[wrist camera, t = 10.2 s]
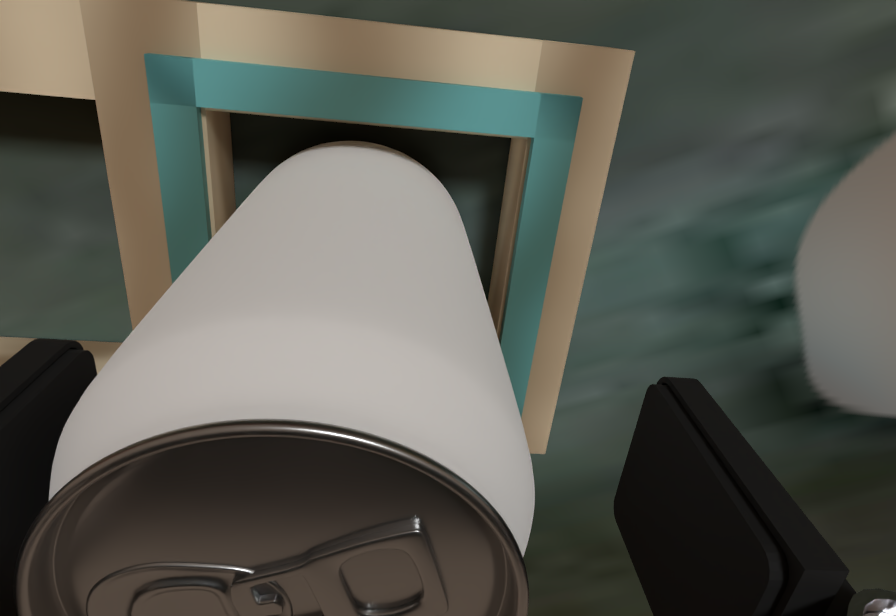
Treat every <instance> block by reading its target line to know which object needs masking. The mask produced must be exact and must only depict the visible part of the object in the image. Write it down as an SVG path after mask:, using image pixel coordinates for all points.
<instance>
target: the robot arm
mask: <svg viewBox="0 0 896 616" xmlns="http://www.w3.org/2000/svg"><path fill="white" fill-rule="evenodd" d="M96 376H97V370H96V365H95V360H94V357H93V354H92V353H91V352H90V351H88V350H84V349H83V347H82V345H81V344H80V343H79V342H77V341H73V340H57V339H34V340H33V341H31V342H29V343H28V344H27V345H26V346H25V347H23V348H22V349H21V350H20V351H18V352H17V353H16V354H15V355H13V356H12V357H11V358H10V359H8V360H7V361H6V362H5V363H4V364H2V365H1V366H0V616H18V615H17V611H16V606H15V599H14V574H15V567H16V562H17V558H18V554H19V551H20V548H21V545H22V543H23V540H24V538H25V536H26V534H27V532H28V530H29V528H30V527H31V525H32V523H33V521H34V520H35V518H36V517H37V516H38V514H39V513H40V511H41V510H42V509H43V508H44V506H45V505H46V504H47V503H48V501H49V489H50V479H51V471H52V465H53V461H54V457H55V452H56V448H57V445H58V441H59V438H60V436H61V433H62V431H63V428H64V426H65V424H66V422H67V420H68V418H69V416H70V415H71V413H72V411H73V409H74V408H75V406H76V405H77V403H78V401H79V400H80V398H81V396H82V395H83V393H84V392H85V390H86V389H87V387H88V386H89V385H90V384H91V382H92V381H93V380H94V378H95V377H96ZM614 515H615V519H616V522H617V525H618V527H619V530H620V532H621V535H622V537H623V540H624V542H625V545H626V548H627V550H628V553H629V555H630V558H631V560H632V563H633V565H634V568H635V570H636V573H637V575H638V578H639V580H640V583H641V585H642V588H643V590H644V593H645V595H646V598H647V600H648V603H649V605H650V608H651V610H652V613H653V615H654V616H896V592H893V591H888V590H883V589H864V590H862V591H860V592H858V593H856V592H855V590H854V589H853V588H852V587H851V585H850V584H849V583H848V581H847V580H846V579H845V578H846V577H847V575H848V573H849V570H848V568H847V567H846V566H845V564H844V563H843V562H842V561H841V559H840V558H839V557H838V556H837V554H836V553H835V552H834V551H833V549H832V548H831V547H830V546H829V544H828V543H827V542H826V541H825V539H824V538H823V537H822V535H821V534H820V533H819V532H818V530H817V529H816V528H815V527H814V525H813V524H812V523H811V522H810V520H809V519H808V518H807V517H806V515H805V514H804V513H803V511H802V510H801V509H800V508H799V506H798V505H797V504H796V503H795V501H794V500H793V499H792V498H791V496H790V495H789V494H788V493H787V491H786V490H785V489H784V488H783V486H782V485H781V484H780V482H779V481H778V480H777V479H776V477H775V476H774V475H773V474H772V472H771V471H770V470H769V469H768V467H767V466H766V465H765V464H764V462H763V461H762V460H761V458H760V457H759V456H758V455H757V453H756V452H755V451H754V450H753V448H752V447H751V446H750V445H749V443H748V442H747V441H746V440H745V438H744V437H743V436H742V435H741V433H740V432H739V431H738V429H737V428H736V427H735V426H734V424H733V423H732V422H731V421H730V419H729V418H728V417H727V416H726V414H725V413H724V412H723V411H722V409H721V408H720V407H719V405H718V404H717V403H716V402H715V400H714V399H713V398H712V397H711V395H710V394H709V393H708V392H707V390H706V389H705V388H704V387H703V385H702V384H701V383H700V382H699V381H698V380H697V379H691V378H675V377H662V378H660V380H659V381H658V382H657V385H656V384H652V385H650V386H649V387H648V389H647V391H646V394H645V398H644V401H643V405H642V408H641V411H640V415H639V418H638V421H637V425H636V428H635V431H634V435H633V438H632V441H631V445H630V448H629V452H628V455H627V458H626V462H625V465H624V468H623V472H622V475H621V478H620V482H619V485H618V488H617V492H616V495H615V499H614Z"/></svg>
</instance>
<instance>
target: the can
mask: <svg viewBox="0 0 896 616" xmlns="http://www.w3.org/2000/svg"><path fill="white" fill-rule="evenodd" d="M534 504H535V486H534V477H533V470H532V463H531V457H530V452H529V448H528V444H527V440H526V436H525V432H524V428H523V424H522V420H521V416H520V413H519V409H518V406H517V402H516V399H515V395H514V392H513V388H512V385H511V381H510V378H509V374H508V371H507V367H506V364H505V361H504V357H503V354H502V350H501V347H500V344H499V340H498V337H497V333H496V330H495V327H494V323H493V320H492V317H491V313H490V310H489V307H488V303H487V300H486V296H485V293H484V290H483V286H482V283H481V280H480V277H479V273H478V270H477V267H476V263H475V260H474V257H473V253H472V250H471V247H470V244H469V241H468V237H467V234H466V231H465V228H464V225H463V222H462V219H461V217H460V214H459V212H458V209H457V207H456V205H455V203H454V201H453V200H452V198H451V196H450V195H449V193H448V192H447V190H446V189H445V187H444V186H443V185H442V184H441V182H440V181H439V180H438V179H437V178H436V177H435V176H434V175H433V174H432V173H431V172H430V171H429V170H428V169H427V168H425V167H424V166H423V165H421V164H420V163H419V162H417V161H416V160H414V159H413V158H411V157H409V156H407V155H406V154H404V153H402V152H399V151H397V150H395V149H392V148H389V147H386V146H383V145H380V144H375V143H370V142H364V141H336V142H329V143H324V144H320V145H316V146H313V147H310V148H308V149H305V150H303V151H301V152H299V153H297V154H295V155H293V156H291V157H290V158H288V159H287V160H285V161H284V162H282V163H281V164H280V165H278V166H277V167H276V168H275V169H274V170H273V171H272V172H270V173H269V174H268V175H267V176H266V177H265V179H264V180H263V181H262V182H261V183H260V184H259V185H258V186H257V187H256V188H255V189H254V191H253V192H252V193H251V194H250V195H249V196H248V197H247V198H246V200H245V201H244V202H243V203H242V204H241V205H240V206H239V208H238V209H237V210H236V211H235V212H234V213H233V214H232V216H231V217H230V218H229V219H228V220H227V221H226V223H225V224H224V225H223V226H222V227H221V228H220V229H219V231H218V232H217V233H216V234H215V235H214V236H213V238H212V239H211V240H210V241H209V242H208V243H207V244H206V246H205V247H204V248H203V249H202V250H201V251H200V253H199V254H198V255H197V256H196V257H195V258H194V260H193V261H192V262H191V263H190V264H189V265H188V267H187V268H186V269H185V270H184V271H183V272H182V274H181V275H180V276H179V277H178V278H177V279H176V281H175V282H174V283H173V284H172V285H171V286H170V288H169V289H168V290H167V291H166V292H165V293H164V295H163V296H162V297H161V298H160V299H159V301H158V302H157V303H156V304H155V305H154V306H153V308H152V309H151V310H150V311H149V312H148V313H147V315H146V316H145V317H144V318H143V319H142V321H141V322H140V323H139V324H138V325H137V326H136V328H135V329H134V330H133V331H132V332H131V334H130V335H129V336H128V337H127V338H126V340H125V341H124V342H123V343H122V344H121V346H120V347H119V348H118V349H117V350H116V352H115V353H114V354H113V355H112V357H111V358H110V359H109V360H108V362H107V363H106V364H105V365H104V367H103V368H102V369H101V371H100V372H99V373H98V374H97V376H96V377H95V378H94V380H93V381H92V382H91V384H90V385H89V386H88V387H87V389H86V390H85V392H84V393H83V395H82V396H81V398H80V400H79V401H78V403H77V405H76V406H75V408H74V409H73V411H72V413H71V415H70V416H69V418H68V420H67V422H66V424H65V426H64V428H63V431H62V433H61V436H60V438H59V441H58V445H57V448H56V452H55V457H54V461H53V465H52V471H51V479H50V489H49V501H48V503H47V504H46V505H45V506H44V508H43V509H42V510H41V511H40V513H39V514H38V516H37V517H36V518H35V520H34V521H33V523H32V525H31V527H30V528H29V530H28V532H27V534H26V536H25V538H24V540H23V543H22V545H21V548H20V551H19V554H18V558H17V562H16V567H15V574H14V599H15V606H16V611H17V615H18V616H527V613H528V605H529V585H528V577H527V572H526V567H525V563H524V560H523V556H524V553H525V550H526V546H527V543H528V539H529V535H530V531H531V526H532V520H533V514H534Z"/></svg>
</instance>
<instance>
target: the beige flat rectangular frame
mask: <svg viewBox="0 0 896 616" xmlns="http://www.w3.org/2000/svg"><path fill="white" fill-rule="evenodd" d="M634 54H635V51H631V50H624V49H617V48H610V47H602V46H593V45H583V44H574V43H565V42H556V41H547V40H538V39H529V38H520V37H511V36H502V35H493V34H484V33H475V32H466V31H457V30H448V29H439V28H430V27H421V26H412V25H403V24H394V23H385V22H376V21H366V20H357V19H348V18H339V17H330V16H321V15H312V14H303V13H294V12H285V11H276V10H267V9H258V8H249V7H240V6H231V5H222V4H213V3H204V2H195V1H186V0H0V91H4V92H14V93H25V94H36V95H47V96H58V97H69V98H80V99H91V100H95V101H96V107H97V113H98V119H99V125H100V131H101V137H102V144H103V150H104V156H105V162H106V168H107V174H108V180H109V187H110V193H111V199H112V205H113V211H114V217H115V223H116V230H117V236H118V242H119V248H120V254H121V260H122V266H123V273H124V279H125V285H126V291H127V297H128V303H129V309H130V316H131V322H132V328H133V330H134V329H135V328H136V326H137V325H138V324H139V323H140V322H141V321H142V319H143V318H144V317H145V316H146V315H147V313H148V312H149V311H150V310H151V309H152V308H153V306H154V305H155V304H156V303H157V302H158V301H159V299H160V298H161V297H162V296H163V295H164V293H165V292H166V291H167V290H168V289H169V288H170V286H171V285H172V284H173V283H174V282H175V281H176V279H177V278H178V277H179V276H180V275H181V274H182V272H183V271H184V270H185V269H186V268H187V267H188V265H189V264H190V263H191V262H192V261H193V260H194V258H195V257H196V256H197V255H198V254H199V253H200V251H201V250H202V249H203V248H204V247H205V246H206V244H207V243H208V242H209V241H210V240H211V239H212V238H213V236H214V235H215V234H216V233H217V232H218V231H219V229H220V228H221V227H222V226H223V225H224V224H225V223H226V221H227V220H228V219H229V218H230V217H231V216H232V214H233V213H234V212H235V211H236V203H235V187H234V172H233V157H232V141H231V126H230V112H233V113H244V114H255V115H266V116H277V117H288V118H299V119H310V120H321V121H332V122H343V123H354V124H365V125H376V126H387V127H398V128H409V129H419V130H430V131H441V132H452V133H463V134H474V135H485V136H496V137H507V138H511V145H510V152H509V159H508V166H507V172H506V179H505V186H504V193H503V200H502V207H501V214H500V221H499V227H498V234H497V241H496V248H495V255H494V262H493V269H492V276H491V283H490V289H489V296H488V307H489V310H490V313H491V317H492V320H493V323H494V327H495V330H496V333H497V337H498V340H499V344H500V347H501V350H502V354H503V357H504V361H505V364H506V367H507V371H508V374H509V378H510V381H511V385H512V388H513V392H514V395H515V399H516V402H517V406H518V409H519V413H520V416H521V420H522V424H523V428H524V432H525V436H526V440H527V444H528V448H529V452H530V453H533V454H545V452H546V447H547V443H548V438H549V434H550V429H551V425H552V421H553V416H554V412H555V407H556V403H557V398H558V394H559V389H560V385H561V380H562V376H563V371H564V367H565V362H566V358H567V353H568V349H569V344H570V340H571V335H572V331H573V327H574V322H575V318H576V313H577V309H578V304H579V300H580V295H581V291H582V286H583V282H584V277H585V273H586V268H587V264H588V259H589V255H590V250H591V246H592V242H593V237H594V233H595V228H596V224H597V219H598V215H599V210H600V206H601V201H602V197H603V192H604V188H605V183H606V179H607V174H608V170H609V165H610V161H611V157H612V152H613V148H614V143H615V139H616V134H617V130H618V125H619V121H620V116H621V112H622V107H623V103H624V98H625V94H626V89H627V85H628V80H629V76H630V71H631V67H632V63H633V58H634ZM34 339H36V338H15V337H0V366H1V365H2V364H4V363H5V362H6V361H7V360H8V359H10V358H11V357H12V356H13V355H15V354H16V353H17V352H18V351H20V350H21V349H22V348H23V347H25V346H26V345H27V344H28V343H29V342H31V341H33V340H34ZM73 341H77V340H73ZM77 342H79V343H80V344H81V345H82V347H83V349H84V350H88V351H90V352H91V353H92V354H93V357H94V360H95V365H96V370H97V374H98V373H99V372H100V371H101V369H102V368H103V367H104V365H105V364H106V363H107V362H108V360H109V359H110V358H111V357H112V355H113V354H114V353H115V352H116V350H117V349H118V348H119V347H120V346H121V344H122V343H118V342H97V341H77Z"/></svg>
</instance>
